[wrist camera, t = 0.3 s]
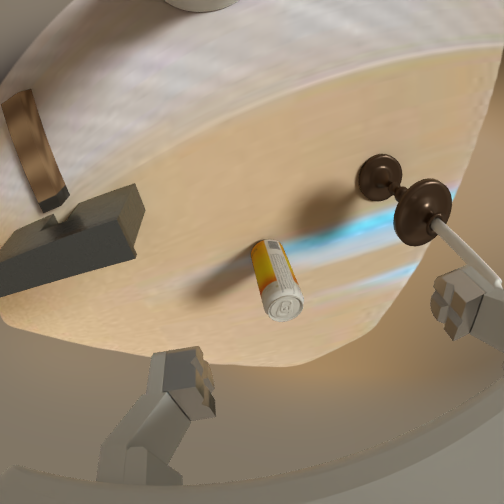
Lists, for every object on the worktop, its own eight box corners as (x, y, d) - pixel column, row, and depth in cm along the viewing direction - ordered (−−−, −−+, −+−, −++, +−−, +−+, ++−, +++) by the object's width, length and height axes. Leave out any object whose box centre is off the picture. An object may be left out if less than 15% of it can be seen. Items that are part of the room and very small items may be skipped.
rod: (14, 100, 30) (0, 104, 27) (31, 88, 30) (18, 92, 27) (52, 202, 42) (43, 213, 39) (69, 195, 42) (61, 205, 39)
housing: (12, 229, 43) (-20, 270, 32) (136, 179, 43) (116, 219, 33) (26, 253, 46) (-1, 297, 36) (149, 211, 47) (135, 258, 36)
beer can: (248, 264, 56) (263, 324, 44) (251, 236, 53) (268, 295, 41) (280, 263, 57) (301, 322, 45) (285, 236, 54) (309, 293, 42)
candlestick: (370, 213, 54) (484, 358, 25) (343, 173, 48) (484, 326, 20) (410, 181, 50) (541, 302, 22) (388, 137, 45) (552, 253, 17)
